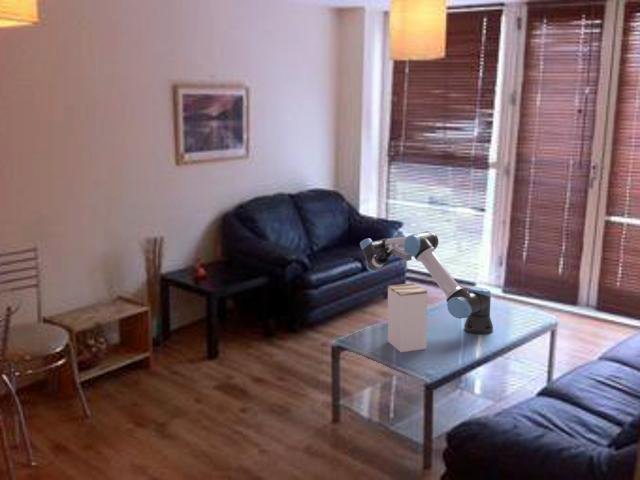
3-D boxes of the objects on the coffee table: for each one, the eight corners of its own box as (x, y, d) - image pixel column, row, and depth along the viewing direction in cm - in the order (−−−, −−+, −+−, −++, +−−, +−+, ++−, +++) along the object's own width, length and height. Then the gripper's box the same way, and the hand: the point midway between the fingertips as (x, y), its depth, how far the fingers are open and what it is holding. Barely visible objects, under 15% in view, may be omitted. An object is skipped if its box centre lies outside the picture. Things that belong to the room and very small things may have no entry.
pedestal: (387, 341, 331) (387, 285, 325) (412, 338, 335) (412, 283, 329) (400, 352, 316) (400, 293, 310) (426, 348, 320) (427, 290, 314)
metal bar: (386, 250, 357) (386, 245, 356) (391, 250, 358) (391, 245, 357) (406, 260, 333) (406, 255, 332) (411, 260, 333) (411, 254, 333)
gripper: (394, 263, 372) (409, 251, 350) (368, 266, 367) (382, 253, 346) (391, 251, 374) (406, 238, 353) (366, 254, 369) (379, 240, 348)
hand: (394, 246), depth 349 cm, fingers closed on metal bar, 3 cm apart
